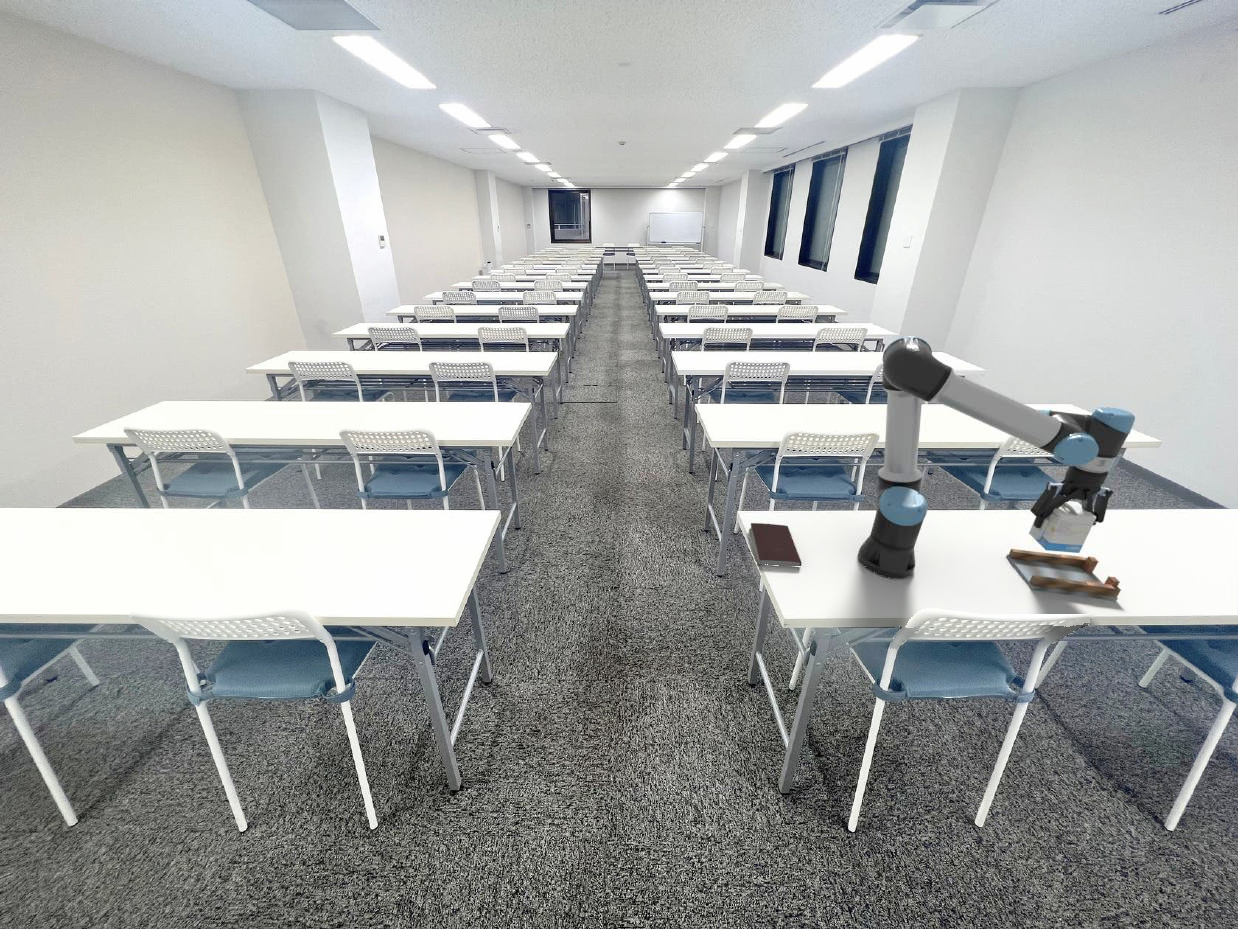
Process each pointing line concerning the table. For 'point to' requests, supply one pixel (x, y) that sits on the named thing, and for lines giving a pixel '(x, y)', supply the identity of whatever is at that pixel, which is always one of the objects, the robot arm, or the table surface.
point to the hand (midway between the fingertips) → (1054, 539)
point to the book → (774, 545)
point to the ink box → (1066, 528)
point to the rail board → (1062, 574)
